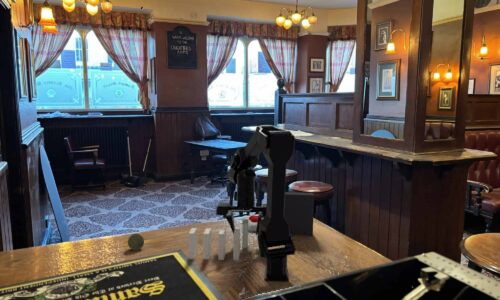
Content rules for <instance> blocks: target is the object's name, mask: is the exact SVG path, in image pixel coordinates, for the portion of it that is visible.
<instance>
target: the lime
mask: <svg viewBox="0 0 500 300" xmlns="http://www.w3.org/2000/svg"><path fill="white" fill-rule="evenodd" d="M144 242H145V239H144V236H142V235H141V234H139V233H133V234H131V235H130V236H129V237H128V240H127V246H128V248H129V249H130V250H132V251H140V249H142V248H143V246H144Z"/></svg>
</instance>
